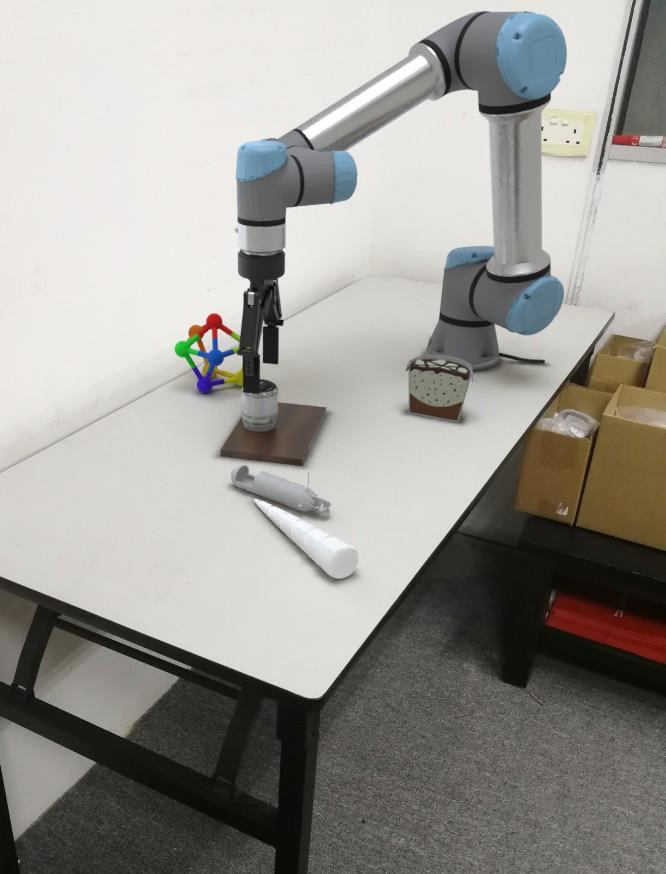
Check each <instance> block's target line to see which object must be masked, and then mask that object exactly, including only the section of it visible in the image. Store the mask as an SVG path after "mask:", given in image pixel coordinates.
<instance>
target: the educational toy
mask: <svg viewBox="0 0 666 874" xmlns="http://www.w3.org/2000/svg"><path fill="white" fill-rule="evenodd" d="M210 330H211V345H212V349H211V350H210V351H209V352H207V351H206V347H205V345H204V342H203V338H204V336H205V334H206V333H207V332H209V331H210ZM218 330H221V331H222V332H223V333H224V334H226V335H228V336H229V337H231V338H232V339H234V340H235V341H237V343H240V334H238V333H236V332H235V331H234V330H232V329H230V328H229V327H227V326H226V325H224V324H223V318H222V316H221V315H220V314H218V313H215V312H212V313H210V314H209V315H207V317H206V320H205V324H203V325H199V324H194V325H191V326H190V327H189V329H188V333H187V334H188V338H187V339H186V340H179V341H178V342H177V343H175V346H174V353H175V355H176V356H178V357H179V358H182V359H183V358H184V359H185V361H186V362H187V364H188V365H189V367H190V368H191V370H192V372H193V373H194V375H195V376H196V379H197V382H196V388H197V389H198V391H199V392H200V393H203V394H208V393H209V392H211V391H212V390H213V387H216V386H221V385H227V384H232V383H235V384H236V385H237V386H239V387H243V363H242V365H241V370H238V371H236V372H235V373H233V372H230V371H226V370H222V369H219V368H218V367H220V366H221V365H222V364H223V362H224V361H225V358H227V357H230V356H232V355H235V354H236V355H237V350H239V346H236V347H234V348H231V349H228V350H225V351H221V350H220V349H219V341H218V340H219V339H218V336H219V335H218ZM195 343H197V346H198V349H194V348H192V346H193V345H195ZM247 348H249V349H251V348H250V347H247ZM191 355H193V356H197V357H201V358H202V359H203V362H204V364H203V366H202V373H203V374H202V373H201V371H200V370H199V368H198V366H197V365H196V363H195V361H194V360H193V358H192V356H191ZM203 375H204V376H203ZM216 375H218V376H222V377H226V378H219V379H215V380H212V379H211V378H215V377H216Z"/></svg>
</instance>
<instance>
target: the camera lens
mask: <svg viewBox="0 0 666 874" xmlns="http://www.w3.org/2000/svg"><path fill="white" fill-rule="evenodd" d="M278 402H279V387H278V386H277V384H276V383H274V382H273V381H271V380H268V379H263V378H260V393H259V394H253V393H243V386H241V417H242V419H243V423H244V427H245V428H246V429H248V430H250V431H255V432H265V431H269V430H272V429H273V428H275V425H276V422H277V416H278V413H277V412H278Z"/></svg>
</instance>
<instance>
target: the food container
mask: <svg viewBox="0 0 666 874" xmlns="http://www.w3.org/2000/svg"><path fill="white" fill-rule="evenodd" d="M406 364H407V365H406V367H405V372H408V415H415V416H420V417H425V418H430V419H437V420H443V421H445V422H446V421H447V422H451V423H452V422H453V423H459V422H460V420H461V415H462V412H463V407H464V404H465V400H466V396H467V393H468V388H469V385H470V382H471V383H474V370H472V367H471V365H470V364H468V363H467V362H465V361H463V360H461V359H458V358H454V357H449V356H442V355H426V354H425V355H419V356H416V357H413V358H411V359H409V360H408V363H406Z"/></svg>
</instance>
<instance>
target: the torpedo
mask: <svg viewBox="0 0 666 874" xmlns="http://www.w3.org/2000/svg"><path fill="white" fill-rule="evenodd" d="M230 479H231V482H232V484H233V485H234V486H235V487H237V488H239V489H242V490H245V491H247V492H250V493H253V494H256V495H257V496H261V497H263V498H265V499H268V500H271V501H274V502H276V503H279V504H282V505H285V506H287V507H289V508H292V509H295V510H297V511H300V512H310V511H315V512H317V513H320V514H325V515H326V516H330V512H331V506H332V504H331V501H329V500H326V499H324V498H322V497H320V496H319V494H318V493H315V491H314V490H312V489H311V488H310V487H309V484H310V471H308V472H307V486H305V485H302V484H299V483H296V482H294V481H290V480H289V479H286V478H284V477H280V476H278V475H275V474H272V473H269V472H267V471H264V470H263V471H259V472H258V473H257V474H256V475H253V474H251V473H250V469H249V466H248V465H247V464H240V465H239V464H238V465H237V466H236V467H234V468H232V470H231V471H230Z"/></svg>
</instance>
